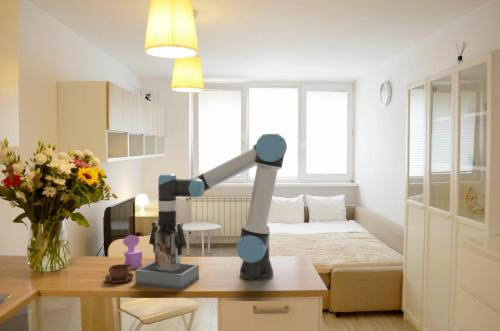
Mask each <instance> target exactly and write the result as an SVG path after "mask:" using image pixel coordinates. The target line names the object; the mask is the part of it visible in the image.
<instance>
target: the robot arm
mask: <svg viewBox="0 0 500 331" xmlns="http://www.w3.org/2000/svg"><path fill="white" fill-rule="evenodd" d="M287 148H288V146H287V142H286V140H285V138H284V137H283V136H281V135H280V134H279V133H278V132H277V133H276V132H266V133H263V134H262V135H261V136H260V137H259V138H258V139H257V141H256V142H255V144H254V145H253V146H252V148H251V149H248V150H247V151H244V152H243V153H241V154H239V155H237V156H235V157H233V158H231V159H230V160H229V159H228V160H227V161H225V162H223V163H221V164H219V165H218V166H216V167H214V168H211V169H209V170H208V171H206V172H203V173H202V174H200V175H198V176H195V177H192V178H185V179H181V178H179V179H178V178H177V175H176V174H171V173H169V174H168V173H166V174H164V173H163V174H160V175H159V176H158V184H157V186H158V187H157V189H158V193H157V196H158V202H157V204H158V206H157V207H158V210H159V211H158V217H157V218H158V221H152V223H151V225H152V226H151V227H152V229H151V232H150V233H151V234H150V237H149V241H148V243H149V245H152V247H153V248H152V250H153V254H155V232H166V231H167V232H170V233H175V232H176V231H177V232H178V235H179V237H178V236H175V243H176V246H177V248H176V263H179V262H180V263H181V255H182V254H183V248H184V247H185V246H187V243H186V237H185V234H184V229H183V227H184V224H183V223H182V222H181V223H178V222H177V210H176V209H177V198H178V197H179V198H180V197H183V198H184V197H185V198H187V197H188V198H202V197H203V196H204V193H205V192H206V191H208V190H210V189H212V188H214V187H216V186H217V185H220V184H222V183H224V182H227V181H228V180H230V179H232V178H234V177H236V176H237V175H240V174H242V173H244V172H246V171H248V170H250V169H253V168H254V167H256V170H255V171H256V172H255V177H254V181H253V187H252V193H251V198H250V203H249V208H248V212H247V218H246V223H245V224H243V225H242V226H241V230H240V235H239V240H238V241H237V244H236V253H237V255H238V257H239V258H240V259H241V260H242V262H241V266H240V269H239V276H240V278H242V279H243V280H247V281H248V280H249V281H265V280H269V279H272V278H273V276H274V269H273V266H272V263H271V259H270V234H271V232H270V227H269V225H268V221H269V216H270V210H271V207H272V201H273V194H274V191H275V184H276V180H277V179H276V178H277V175H278V174H277V173H278V171H280V170H281V169H282V168H283V165H284V164H283V163H284V158H285V155H286V153H287V152H286V151H287V150H288V149H287ZM158 228H159V230H158ZM176 229H177V230H176Z"/></svg>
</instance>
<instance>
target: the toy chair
mask: <svg viewBox="0 0 500 331" xmlns="http://www.w3.org/2000/svg"><path fill="white" fill-rule="evenodd" d="M139 242H140V238H139V236H137V235H134V234H130V235H127V236H126V237H124V238H123V240H122V243H123V244H124V246H125V247H127V250H125V251H123V252H124V253H123V254H124V258H125V260H124V263H123V265H127V266H130V268H129V270H136V269H139V268H141V267H143V264H142V259H143V251H140V250H139V249H135V247H137V246H138V244H139Z"/></svg>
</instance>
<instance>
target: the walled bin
mask: <svg viewBox="0 0 500 331" xmlns="http://www.w3.org/2000/svg"><path fill="white" fill-rule="evenodd" d="M134 270H135V272H134V273H135V275H134V277H135V281H134V282H135V283H134V284H135V285H137V286H138V285H140V286H147V287H158V288H165V289H172V290H173V289H175V290H183V289H185V288H186V287H188V286H190V285H191V284H192V283H194V282H196V281H198V280H199V279H200V278H199V277H200V265H199V264H194V263H193V264H192V263H183V262H180V268H179V269H176V270H174V271H166V270H160V269H156V268H155V260H154V261H152V262H150V263H148V264H146V265H144V266H143V265H142V267H140V268H136V269H134Z"/></svg>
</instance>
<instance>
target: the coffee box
mask: <svg viewBox="0 0 500 331" xmlns="http://www.w3.org/2000/svg"><path fill="white" fill-rule="evenodd" d="M175 236H178V237H179V235H178V230H176V232H175V233H170V232H167V231H166V232H158V231H157V232H155V253H154V261H155V268H156V269H160V270H166V271H174V270H176V269H179V268H180V263H181V261H180V262H179V263H176V248H177V246H176V243H175Z"/></svg>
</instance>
